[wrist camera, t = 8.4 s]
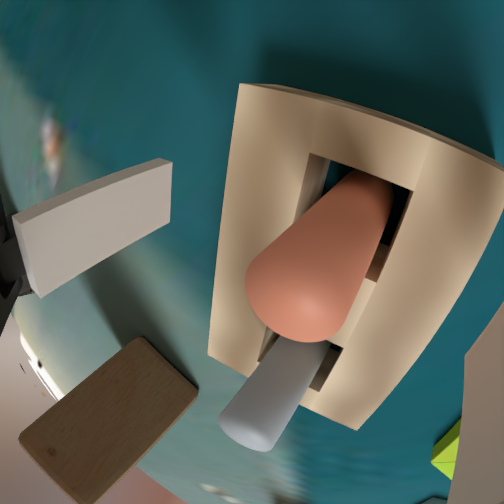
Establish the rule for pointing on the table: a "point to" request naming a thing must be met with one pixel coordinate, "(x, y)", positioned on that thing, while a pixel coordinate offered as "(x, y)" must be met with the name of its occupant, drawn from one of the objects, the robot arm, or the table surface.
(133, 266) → the table surface
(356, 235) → the red peg
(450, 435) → the pattern blocks set
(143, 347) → the wooden block
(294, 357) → the grey peg
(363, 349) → the hole block
